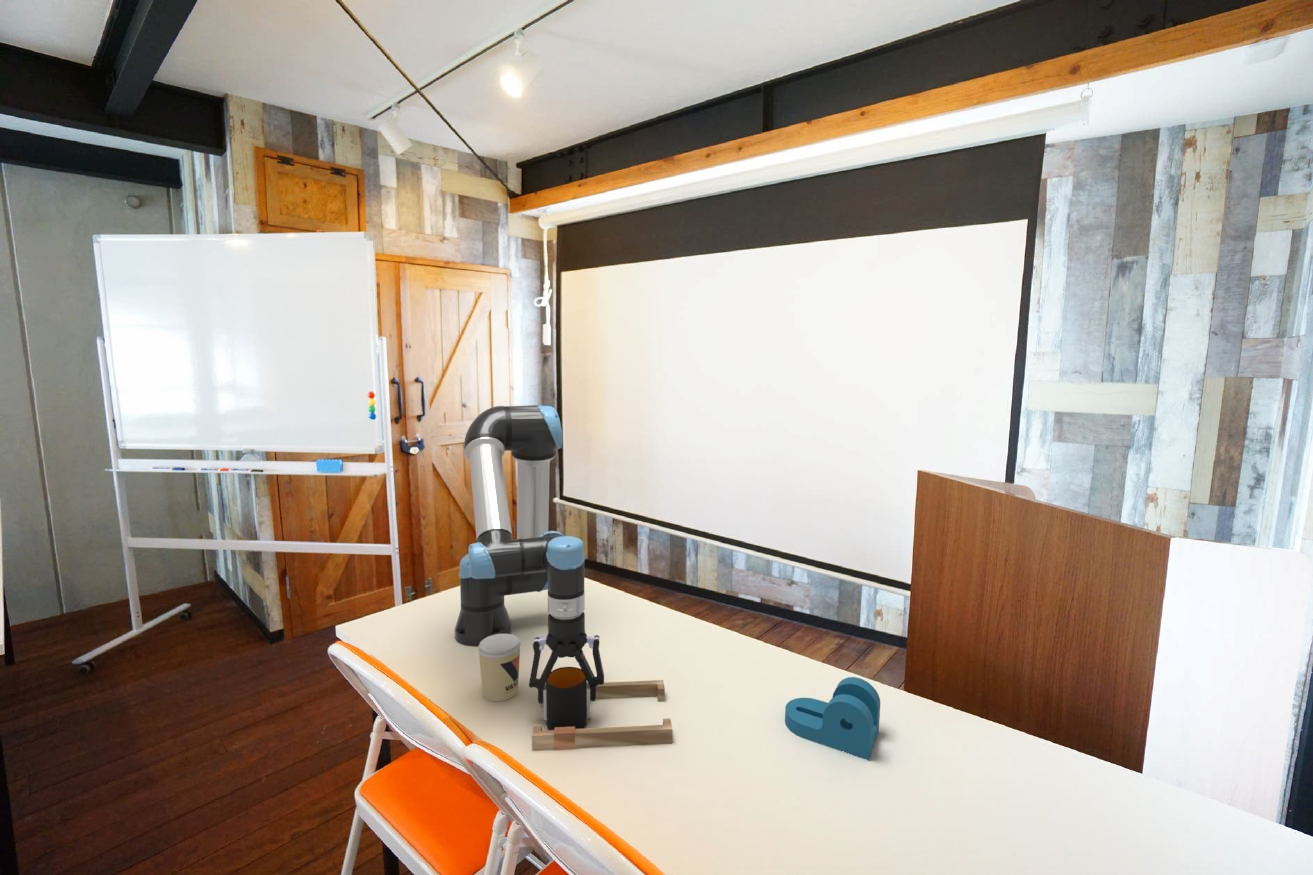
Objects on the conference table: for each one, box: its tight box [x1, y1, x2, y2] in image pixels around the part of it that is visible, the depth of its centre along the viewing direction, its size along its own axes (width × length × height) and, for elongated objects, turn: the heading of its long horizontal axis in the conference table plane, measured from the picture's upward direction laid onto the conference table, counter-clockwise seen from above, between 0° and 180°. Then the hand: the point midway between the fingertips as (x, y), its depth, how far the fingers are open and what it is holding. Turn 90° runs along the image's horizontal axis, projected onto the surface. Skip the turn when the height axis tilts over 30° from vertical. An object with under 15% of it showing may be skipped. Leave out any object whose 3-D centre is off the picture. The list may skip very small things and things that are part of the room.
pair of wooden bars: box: [531, 679, 673, 751], centre depth 121 cm, size 18×28×3 cm
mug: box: [546, 666, 588, 730], centre depth 120 cm, size 8×12×10 cm
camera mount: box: [784, 676, 881, 761], centre depth 117 cm, size 18×10×10 cm, turn 59°
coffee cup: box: [477, 633, 521, 702], centre depth 130 cm, size 9×9×12 cm
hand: (567, 715), depth 120 cm, fingers closed on mug, 8 cm apart
